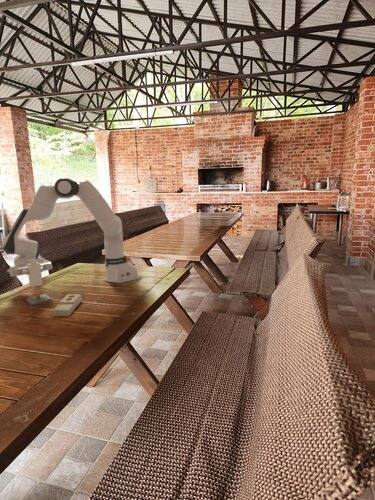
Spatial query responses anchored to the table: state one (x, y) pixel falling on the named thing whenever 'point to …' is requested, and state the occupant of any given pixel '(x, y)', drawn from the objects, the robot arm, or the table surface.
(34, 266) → the tapered lotion bottle
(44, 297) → the peg stand
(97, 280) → the table surface
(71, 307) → the electrical outlet
